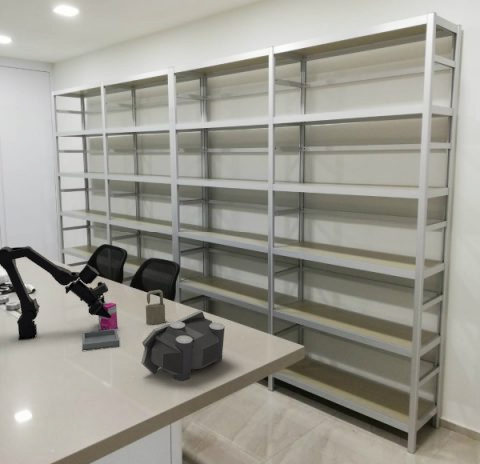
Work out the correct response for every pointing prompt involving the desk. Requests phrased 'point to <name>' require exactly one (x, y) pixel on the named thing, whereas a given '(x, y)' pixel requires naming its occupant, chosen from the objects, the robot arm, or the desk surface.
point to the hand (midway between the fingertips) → (111, 314)
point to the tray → (100, 339)
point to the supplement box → (109, 322)
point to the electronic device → (184, 346)
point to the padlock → (155, 309)
